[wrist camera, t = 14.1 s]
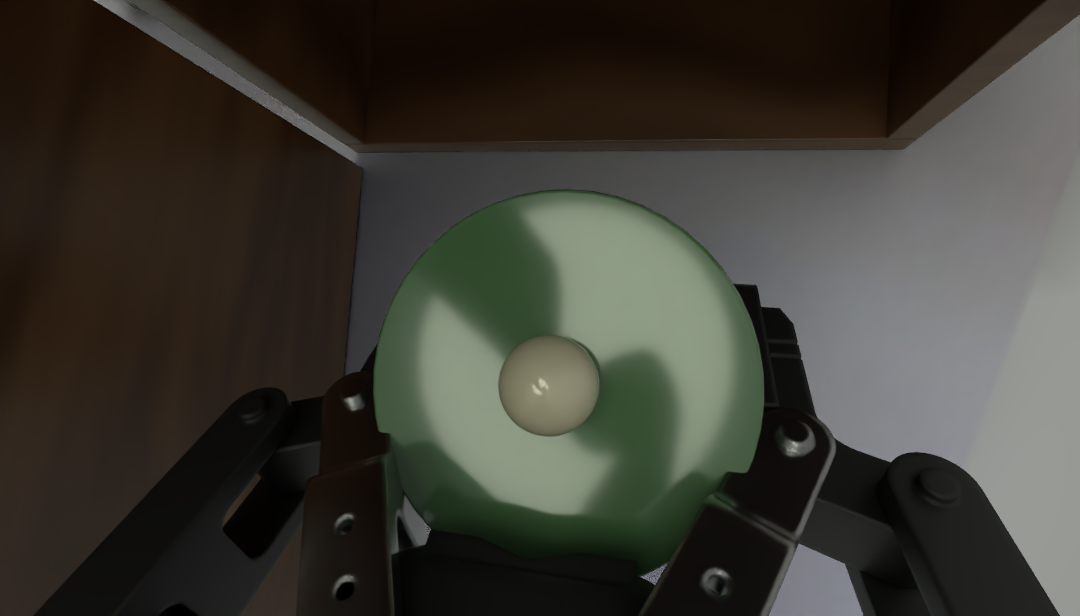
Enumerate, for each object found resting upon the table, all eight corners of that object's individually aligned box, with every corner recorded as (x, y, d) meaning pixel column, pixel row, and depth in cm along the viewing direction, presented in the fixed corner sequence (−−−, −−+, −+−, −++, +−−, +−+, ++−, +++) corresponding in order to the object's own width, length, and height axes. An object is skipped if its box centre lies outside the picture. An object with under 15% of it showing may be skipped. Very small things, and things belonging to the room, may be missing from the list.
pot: (495, 457, 17) (311, 588, 8) (510, 263, 18) (351, 164, 8) (699, 481, 16) (775, 675, 7) (710, 270, 17) (796, 162, 7)
